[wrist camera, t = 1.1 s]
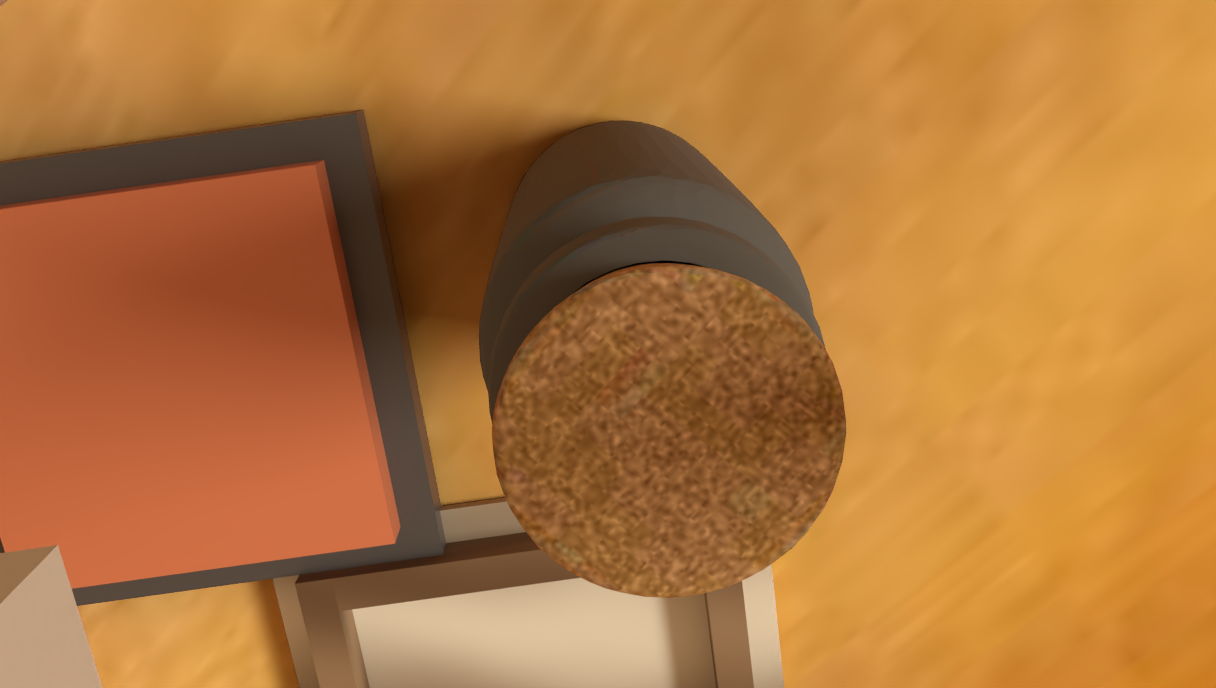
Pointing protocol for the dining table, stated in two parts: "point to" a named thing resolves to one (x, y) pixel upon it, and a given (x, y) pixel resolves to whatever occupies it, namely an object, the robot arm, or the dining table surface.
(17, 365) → the ink pad
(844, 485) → the dining table surface
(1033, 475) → the dining table surface
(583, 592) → the frame
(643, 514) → the cork-lidded jar
